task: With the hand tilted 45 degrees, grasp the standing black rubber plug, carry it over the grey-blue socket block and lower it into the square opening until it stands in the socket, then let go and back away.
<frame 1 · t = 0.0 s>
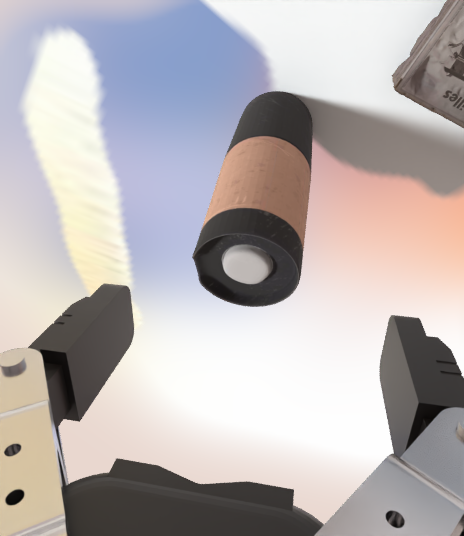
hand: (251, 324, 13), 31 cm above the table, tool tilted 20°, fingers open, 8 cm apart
travel mug: (276, 124, 42), on the table
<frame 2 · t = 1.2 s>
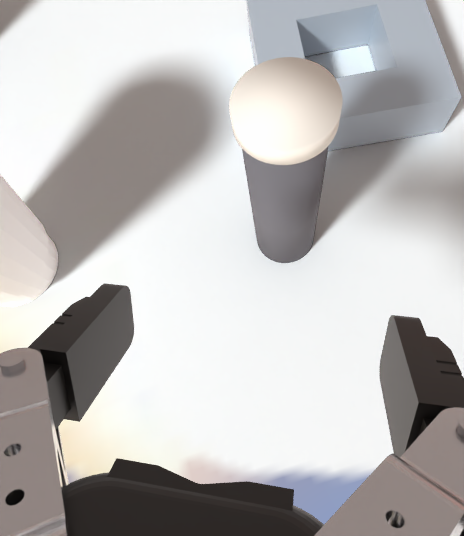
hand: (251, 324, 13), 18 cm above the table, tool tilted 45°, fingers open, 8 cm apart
plug: (284, 236, 33), on the table
cup: (20, 267, 35), on the table
socket: (338, 79, 37), on the table
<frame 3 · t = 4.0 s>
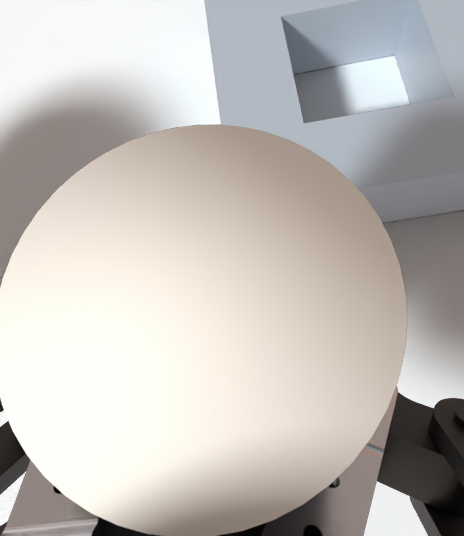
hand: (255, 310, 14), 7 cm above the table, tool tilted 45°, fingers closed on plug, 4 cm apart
plug: (260, 384, 19), on the table, touching gripper
socket: (349, 111, 24), on the table
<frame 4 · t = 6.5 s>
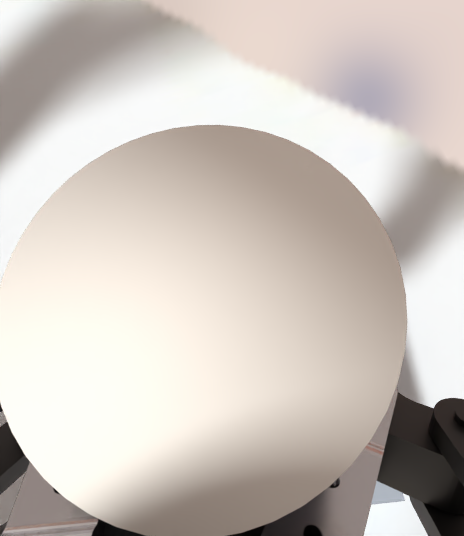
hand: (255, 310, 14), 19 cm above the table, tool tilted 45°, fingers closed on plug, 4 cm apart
plug: (260, 385, 19), point 13 cm above the table, touching gripper
socket: (269, 394, 31), on the table
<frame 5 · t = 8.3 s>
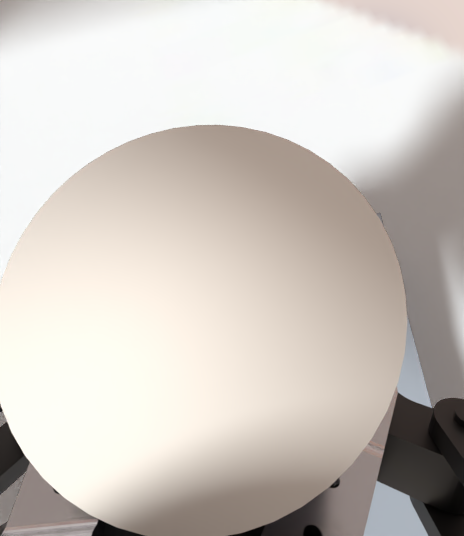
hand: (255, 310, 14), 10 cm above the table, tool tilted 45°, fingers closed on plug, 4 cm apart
plug: (260, 385, 19), point 3 cm above the table, touching gripper
socket: (261, 385, 22), on the table
when the fingers open (7 cm above the table, at t = 9.4 s): plug stays where it is, resting in socket.
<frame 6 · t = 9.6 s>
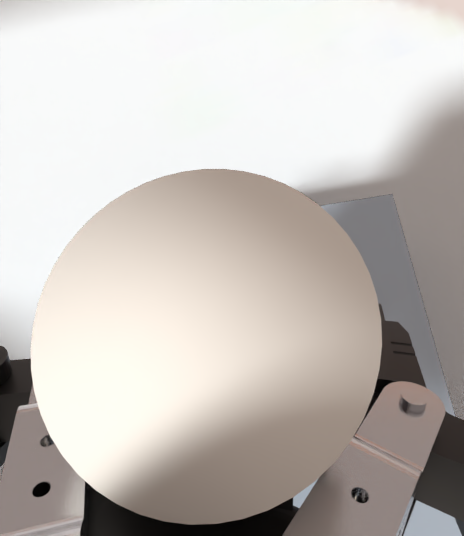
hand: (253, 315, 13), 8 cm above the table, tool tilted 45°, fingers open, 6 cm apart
plug: (261, 388, 20), resting in socket
socket: (260, 386, 20), on the table
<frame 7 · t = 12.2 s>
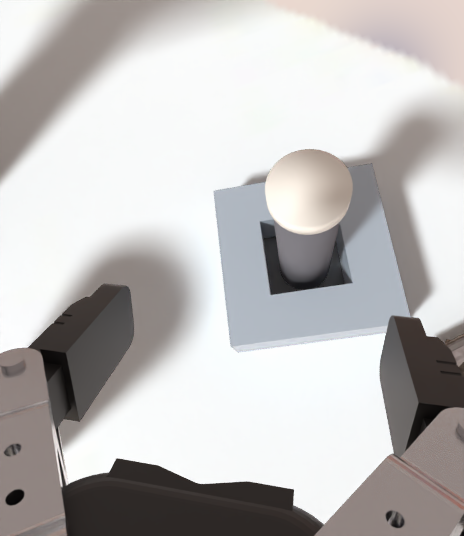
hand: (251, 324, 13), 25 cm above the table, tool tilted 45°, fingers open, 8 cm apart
plug: (304, 266, 39), resting in socket
socket: (303, 265, 39), on the table
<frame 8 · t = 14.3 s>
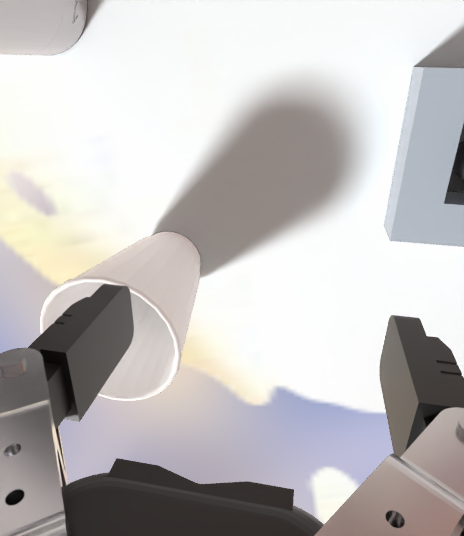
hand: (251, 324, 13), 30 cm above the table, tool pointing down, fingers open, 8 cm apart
cup: (171, 259, 48), on the table
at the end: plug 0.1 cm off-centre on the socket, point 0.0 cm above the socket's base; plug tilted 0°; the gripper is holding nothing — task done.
